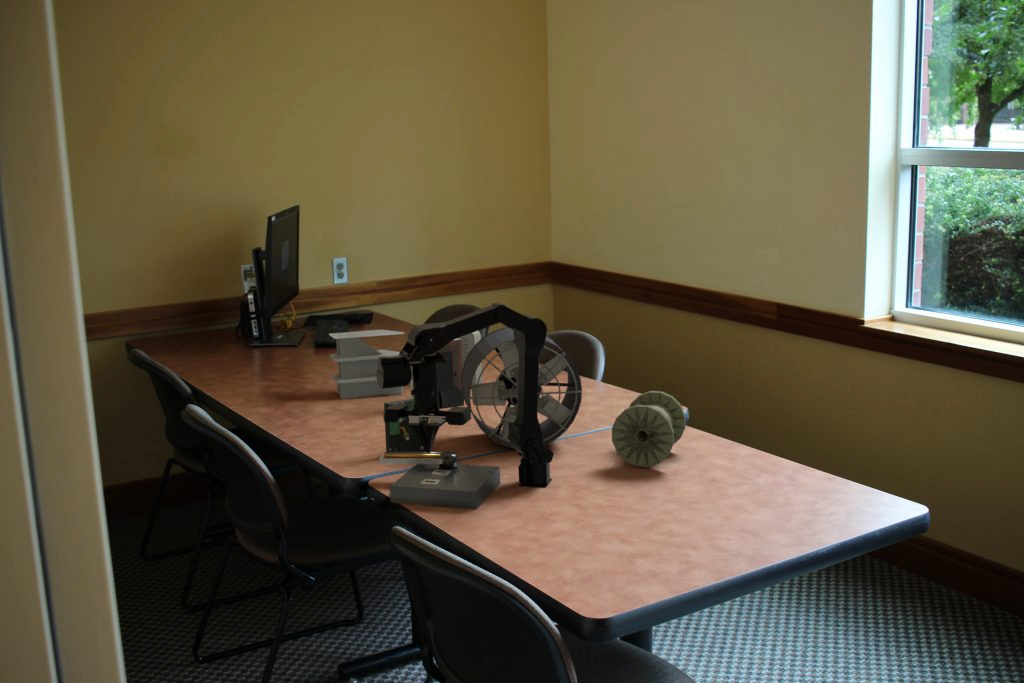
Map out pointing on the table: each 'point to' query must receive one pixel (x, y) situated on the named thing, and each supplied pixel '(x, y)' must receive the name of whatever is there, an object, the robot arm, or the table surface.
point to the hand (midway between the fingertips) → (428, 452)
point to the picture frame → (450, 373)
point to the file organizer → (360, 365)
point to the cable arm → (421, 458)
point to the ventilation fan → (507, 387)
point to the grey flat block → (446, 485)
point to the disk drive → (401, 432)
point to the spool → (648, 428)
